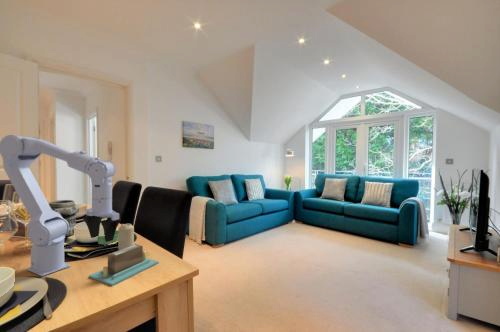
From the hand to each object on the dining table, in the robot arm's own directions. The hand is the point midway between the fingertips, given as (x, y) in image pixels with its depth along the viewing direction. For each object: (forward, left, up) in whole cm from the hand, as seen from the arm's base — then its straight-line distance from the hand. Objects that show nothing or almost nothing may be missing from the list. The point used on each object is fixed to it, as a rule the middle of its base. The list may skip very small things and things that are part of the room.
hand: (101, 238), depth 79 cm
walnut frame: (+8, +3, -9) cm, 13 cm away
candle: (-8, +15, -10) cm, 20 cm away
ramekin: (-20, +16, -10) cm, 28 cm away
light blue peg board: (+8, +3, -10) cm, 13 cm away
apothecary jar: (-36, +6, -10) cm, 38 cm away
